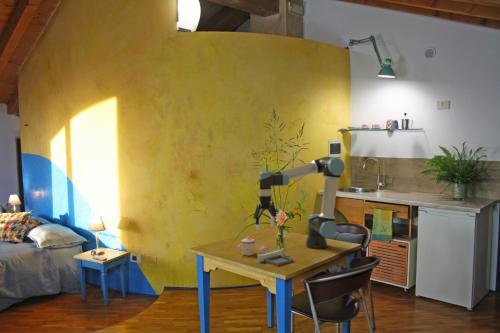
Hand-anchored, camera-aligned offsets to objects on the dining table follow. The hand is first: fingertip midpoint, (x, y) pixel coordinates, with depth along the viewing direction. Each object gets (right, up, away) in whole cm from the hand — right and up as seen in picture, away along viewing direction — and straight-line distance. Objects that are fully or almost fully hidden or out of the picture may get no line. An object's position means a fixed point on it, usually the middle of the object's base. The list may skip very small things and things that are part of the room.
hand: (265, 227), depth 266 cm
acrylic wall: (+4, -20, -4) cm, 20 cm away
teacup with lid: (-13, -19, +7) cm, 24 cm away
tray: (+8, -20, -10) cm, 24 cm away
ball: (-1, -16, +3) cm, 16 cm away
